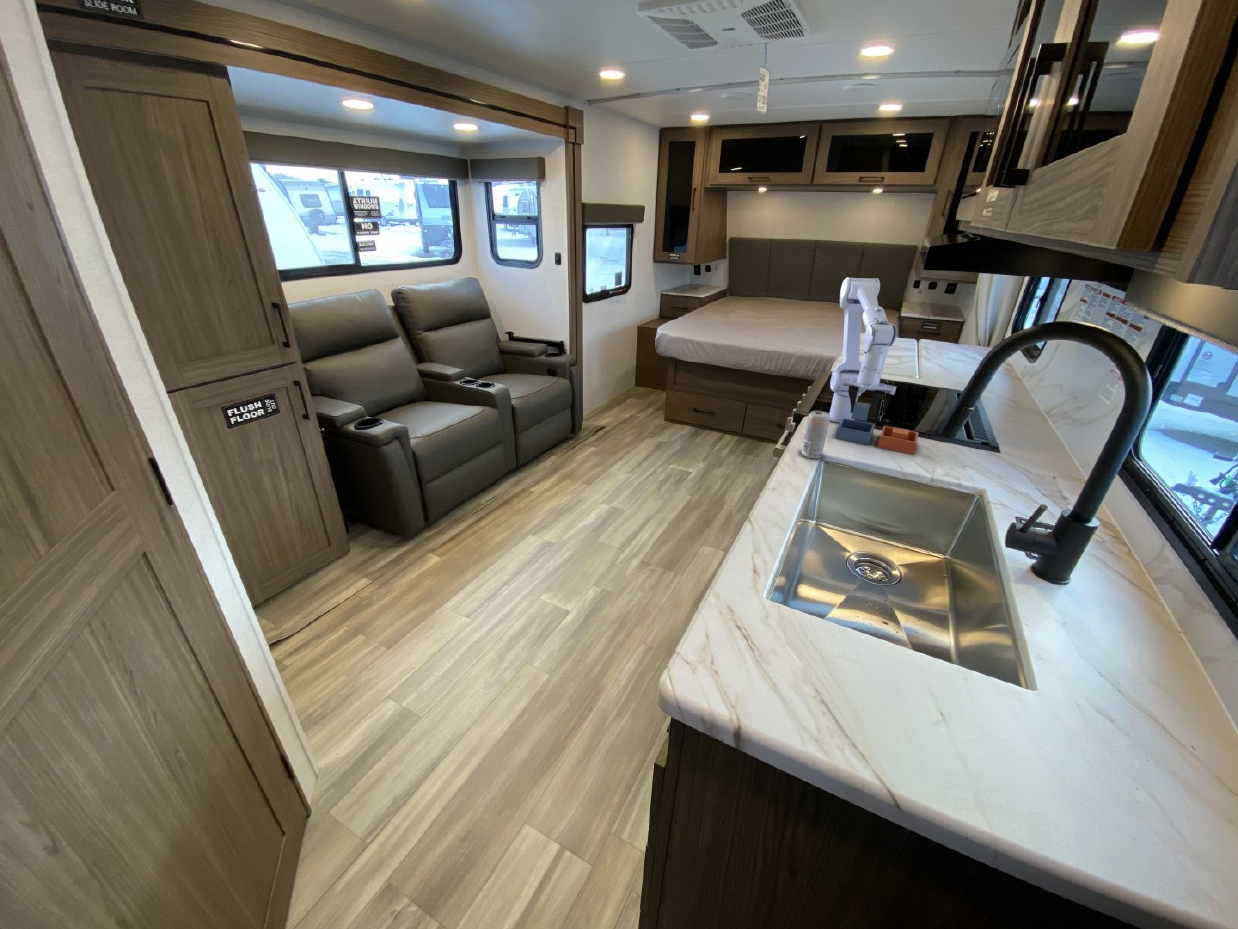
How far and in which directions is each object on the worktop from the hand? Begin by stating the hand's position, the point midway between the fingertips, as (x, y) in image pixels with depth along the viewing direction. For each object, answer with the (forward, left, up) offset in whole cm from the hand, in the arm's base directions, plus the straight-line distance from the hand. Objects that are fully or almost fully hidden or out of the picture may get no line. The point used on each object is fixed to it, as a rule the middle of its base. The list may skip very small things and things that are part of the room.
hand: (860, 413), depth 145 cm
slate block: (0, 0, -1) cm, 1 cm away
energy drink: (+21, -8, -8) cm, 24 cm away
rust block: (0, +11, -7) cm, 13 cm away
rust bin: (0, +11, -8) cm, 14 cm away
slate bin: (0, 0, -8) cm, 8 cm away
